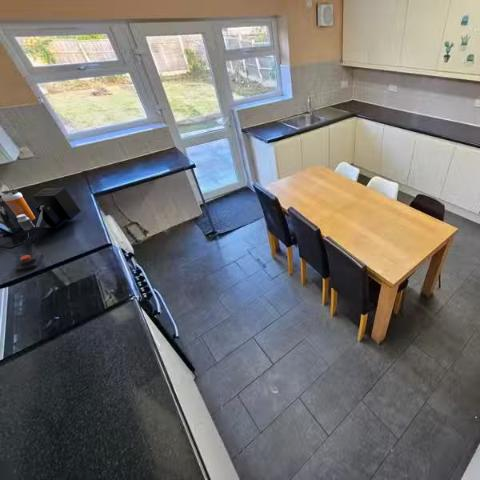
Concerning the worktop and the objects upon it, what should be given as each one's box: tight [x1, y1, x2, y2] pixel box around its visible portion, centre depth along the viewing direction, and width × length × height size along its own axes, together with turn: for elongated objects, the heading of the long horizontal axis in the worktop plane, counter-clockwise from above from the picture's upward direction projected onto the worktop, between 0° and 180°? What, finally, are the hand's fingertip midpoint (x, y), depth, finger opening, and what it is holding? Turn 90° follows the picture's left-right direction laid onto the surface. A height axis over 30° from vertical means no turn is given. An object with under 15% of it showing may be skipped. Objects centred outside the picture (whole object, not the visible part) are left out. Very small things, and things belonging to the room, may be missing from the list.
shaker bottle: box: [0, 189, 36, 222], centre depth 171 cm, size 9×9×20 cm
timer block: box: [15, 253, 45, 272], centre depth 142 cm, size 10×8×4 cm
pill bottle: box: [15, 214, 36, 231], centre depth 167 cm, size 5×5×9 cm
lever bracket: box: [34, 204, 68, 230], centre depth 168 cm, size 10×8×14 cm
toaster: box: [32, 187, 82, 221], centre depth 174 cm, size 10×13×18 cm
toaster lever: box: [30, 206, 44, 231], centre depth 163 cm, size 15×6×2 cm
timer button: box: [19, 254, 31, 262], centre depth 141 cm, size 4×4×2 cm
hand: (11, 227), depth 136 cm, fingers closed
